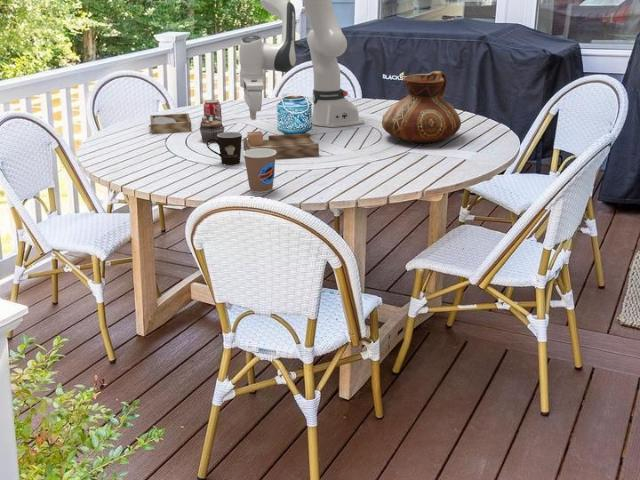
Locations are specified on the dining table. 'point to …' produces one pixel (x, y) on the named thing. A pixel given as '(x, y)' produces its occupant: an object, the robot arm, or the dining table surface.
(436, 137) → the jug
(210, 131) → the cupcake
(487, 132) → the dining table surface
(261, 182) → the coffee cup
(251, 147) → the trap box
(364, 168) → the dining table surface
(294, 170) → the dining table surface
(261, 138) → the block
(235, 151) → the coffee mug
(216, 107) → the soda can
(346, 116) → the robot arm
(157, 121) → the stone block
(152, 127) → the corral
